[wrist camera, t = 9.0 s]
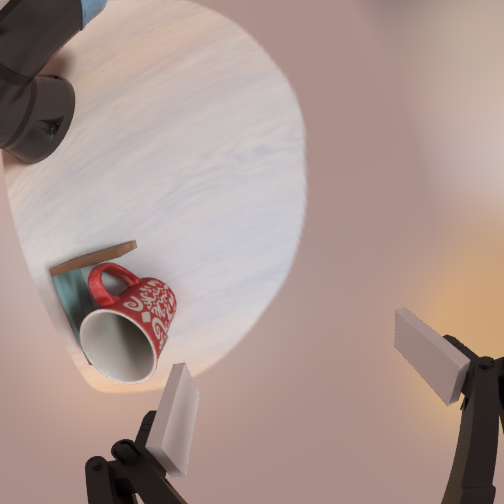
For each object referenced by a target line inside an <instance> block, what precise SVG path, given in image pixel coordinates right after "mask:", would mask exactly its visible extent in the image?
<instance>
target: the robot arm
mask: <svg viewBox="0 0 504 504" xmlns="http://www.w3.org/2000/svg"><path fill="white" fill-rule="evenodd" d="M106 3H107V0H0V149H4V150H5V151H7V152H8V153H10V154H12V155H13V156H15V157H16V158H17V159H19V160H20V161H23V162H29V163H36V162H39V161H42V160H44V159H45V158H47V157H48V156H49V155H51V154H52V153H53V152H54V151H55V150H56V148H57V147H58V146H59V145H60V143H61V142H62V140H63V139H64V137H65V135H66V133H67V131H68V129H69V127H70V124H71V121H72V118H73V114H74V109H75V93H74V89H73V87H72V85H71V83H70V82H69V81H68V80H66V79H64V78H63V77H61V76H58V75H37V74H38V73H39V72H40V71H41V69H42V68H43V67H44V66H45V65H46V64H47V63H48V62H49V61H50V59H51V58H52V57H53V56H54V55H55V54H56V53H57V52H58V51H59V50H60V49H61V48H62V47H63V46H64V45H65V44H66V43H67V42H68V41H69V40H70V39H71V38H72V37H74V36H75V35H76V34H77V33H78V32H79V31H82V30H83V29H84V28H85V26H86V25H87V24H88V23H89V22H90V21H91V20H92V19H93V18H94V17H96V16H97V15H98V14H99V13H100V12H101V11H102V10H103V9H104V8H105V6H106ZM394 341H395V342H394V347H395V348H396V349H397V350H398V351H399V352H400V353H401V354H402V355H403V356H404V358H405V359H406V360H407V361H408V362H409V363H410V364H411V365H412V366H413V367H414V369H415V370H416V371H417V372H418V373H419V374H420V375H421V376H422V378H423V379H424V380H425V381H426V382H427V383H428V384H429V386H430V387H431V388H432V389H433V390H434V391H435V392H436V394H437V395H438V396H439V397H440V398H441V399H442V401H443V402H444V403H445V404H446V405H447V407H448V406H450V405H452V404H453V403H455V402H456V401H458V400H459V397H460V394H461V392H462V393H463V394H464V395H465V397H464V400H463V403H462V405H461V408H460V410H462V418H461V425H460V432H459V437H458V443H457V448H456V453H455V457H454V462H453V466H452V470H451V473H450V477H449V481H448V484H447V487H446V491H445V494H444V497H443V500H442V503H441V504H493V502H494V498H495V492H496V488H495V486H493V485H492V482H493V476H494V470H495V462H496V455H497V445H498V432H499V416H500V419H501V423H502V428H503V433H504V357H501V358H498V359H496V360H494V359H493V358H491V357H487V356H484V357H478V356H477V355H476V354H475V353H474V352H472V351H471V350H470V349H469V348H467V347H466V346H464V345H463V344H462V343H460V341H458V340H457V339H456V338H455V337H452V336H449V335H445V336H443V337H442V336H441V335H440V334H438V333H437V332H436V331H435V330H433V329H432V328H431V327H429V326H428V325H427V324H426V323H424V322H423V321H422V320H421V319H419V318H418V317H417V316H416V315H414V314H413V313H412V312H410V311H409V310H408V309H407V308H405V307H404V308H401V309H399V310H396V311H395V340H394ZM198 401H199V393H198V391H197V388H196V386H195V384H194V382H193V380H192V377H191V375H190V373H189V371H188V368H187V366H186V364H185V363H179V364H173V367H172V370H171V372H170V375H169V378H168V381H167V384H166V387H165V389H164V392H163V395H162V398H161V401H160V404H159V407H158V410H157V411H149V412H148V413H147V414H146V415H145V417H144V418H143V421H142V423H141V426H140V429H139V432H138V434H137V437H136V440H135V442H133V441H132V440H129V439H123V440H120V441H118V442H116V443H115V444H114V445H113V446H112V449H111V453H112V456H113V457H114V458H115V459H116V460H114V461H106V460H105V459H104V458H103V457H101V456H94V457H92V458H90V459H89V460H88V461H87V462H86V465H85V473H86V486H87V496H88V503H89V504H138V502H137V499H136V495H135V493H138V495H139V496H140V497H141V499H142V501H143V502H144V504H187V503H186V501H185V500H184V499H183V498H182V497H181V496H180V495H179V494H178V492H177V491H176V490H175V489H174V488H173V487H172V485H171V484H170V483H169V481H168V480H167V479H166V478H165V476H166V472H167V473H168V474H169V475H170V476H171V477H186V473H187V466H188V460H189V454H190V448H191V442H192V436H193V430H194V424H195V418H196V413H197V407H198ZM462 408H463V409H462Z"/></svg>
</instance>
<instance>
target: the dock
mask: <svg viewBox="0 0 504 504" xmlns="http://www.w3.org/2000/svg"><path fill="white" fill-rule="evenodd" d="M135 248H137V244H136V241H135V240H134V241H131V242H127V243H124V244H120V245H117V246H114V247H110V248H107V249H104V250H100V251H97V252H94V253H90V254H87V255H84V256H81V257H78V258H75V259H72V260H69V261H67V262H65V263H63V264H61V265H58V266H56V267H54V268H52V269H50V272H51V276H52V279H53V282H54V284H55V287H56V290H57V293H58V296H59V298H60V301H61V303H62V306H63V309H64V311H65V314H66V316H67V318H68V321H69V323H70V325H71V328H72V330H73V332H74V334H75V336H76V339H77V341H78V343H79V345H80V347H81V349H82V346H81V342H80V327H81V324H82V322H83V320H84V318H85V317H86V316H87V315H88V314H89V313H91V312H93V311H95V310H94V308H93V305H92V302H91V300H90V297H89V294H88V292H87V289H86V286H85V283H84V280H83V277H82V274H81V271H80V268H83V267H86V266H90V265H93V264H97V263H100V262H104V261H108V260H111V259H115V258H118V257H121V256H122V255H124V254H126V253H128V252H130V251H131V250H133V249H135ZM167 339H168V335H166V337H165V340H164V343H163V345H162V348H161V350H160V353H159V356H160V354H161V351H162V349H163V347H164V345H165V343H166V341H167ZM82 351H83V349H82ZM83 353H84V351H83ZM84 355H85V353H84ZM159 356H158V358H159ZM85 357H86V355H85ZM86 359H87V361H88V363H89V364H90V365H92V364H91V362H90V361H89V360H88V358H87V357H86Z"/></svg>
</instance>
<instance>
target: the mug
mask: <svg viewBox="0 0 504 504" xmlns="http://www.w3.org/2000/svg"><path fill="white" fill-rule="evenodd" d="M102 272H108V273H110V274H112V275H114V276H116V277H118V278H120V279H121V280H123V281H124V282H125V283H126V284H127V285H128V288H127V289H126V290H124V291H123V292H122V293H120V294H119V295H117V296H116V295H111V294H109V293H108V292H107V290H106V289H105V287H104V285H103V283H102V279H101V276H102ZM88 285H89V289H90V291H91V293H92V295H93V297H94V298H95V300H96V301H97V302H98V304H99V305H100V308H99V309H98V310H95V311H93V312H91V313H89V314H88V315H87V316H86V317H85V318H84V320H83V322H82V324H81V327H80V342H81V346H82V349H83V351H84V353H85V355H86V357H87V358H88V360H89V361H90V362H91V364H92V365H93V366H94V367H95V368H96V369H97V370H98V371H99V372H101V373H102V374H103V375H105V376H106V377H108V378H110V379H112V380H114V381H117V382H120V383H125V384H137V383H141V382H144V381H146V380H147V379H149V378H150V377H151V376H152V375H153V373H154V372H155V370H156V367H157V362H158V356H159V353H160V350H161V348H162V345H163V343H164V340H165V337H166V335H167V332H168V329H169V327H170V324H171V322H172V319H173V317H174V315H175V312H176V299H175V296H174V294H173V292H172V291H171V289H170V288H169V287H168V286H167V285H166V284H165V283H163V282H162V281H160V280H157V279H154V278H144V279H139V278H138V277H136V276H135V275H134V274H133V273H131V272H130V271H128V270H127V269H125V268H123V267H122V266H120V265H117V264H115V263H103V264H101V265H99V266H97V267H96V268H94V269H93V270H92V271H91V272H90V274H89V277H88Z"/></svg>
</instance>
